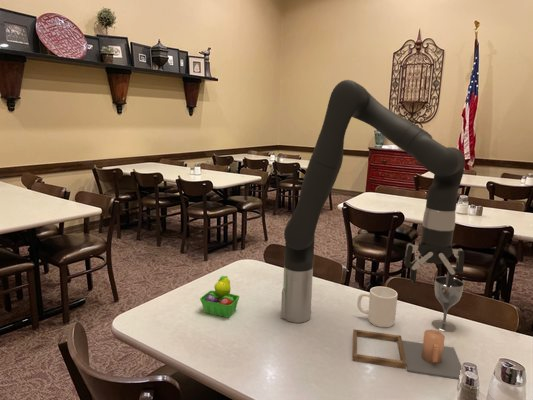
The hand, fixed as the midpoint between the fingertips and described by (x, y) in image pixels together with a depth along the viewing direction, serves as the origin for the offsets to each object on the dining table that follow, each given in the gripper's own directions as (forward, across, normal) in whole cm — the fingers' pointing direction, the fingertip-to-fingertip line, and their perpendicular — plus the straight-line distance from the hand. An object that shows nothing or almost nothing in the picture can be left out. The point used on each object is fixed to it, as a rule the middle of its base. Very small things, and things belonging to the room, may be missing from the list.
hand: (430, 284), depth 103 cm
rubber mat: (+21, -2, +2) cm, 21 cm away
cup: (+21, +12, -15) cm, 29 cm away
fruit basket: (+22, +62, -7) cm, 66 cm away
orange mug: (+20, -2, +2) cm, 20 cm away
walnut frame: (+21, +12, +2) cm, 24 cm away
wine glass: (+21, -9, -18) cm, 29 cm away
